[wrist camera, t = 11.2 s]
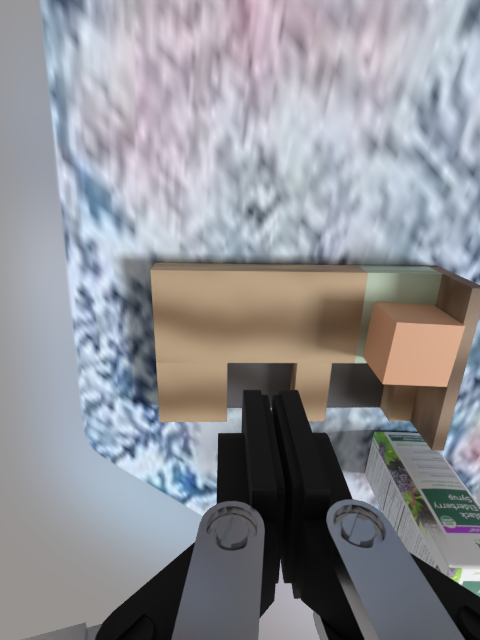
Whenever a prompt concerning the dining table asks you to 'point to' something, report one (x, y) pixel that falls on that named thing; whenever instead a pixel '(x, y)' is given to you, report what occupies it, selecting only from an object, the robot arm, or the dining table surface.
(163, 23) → the dining table surface
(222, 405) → the board
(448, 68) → the dining table surface
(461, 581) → the syrup box
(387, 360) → the orange block
